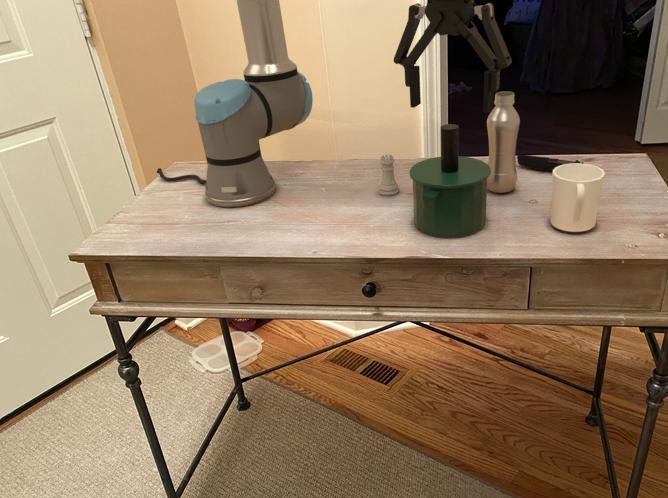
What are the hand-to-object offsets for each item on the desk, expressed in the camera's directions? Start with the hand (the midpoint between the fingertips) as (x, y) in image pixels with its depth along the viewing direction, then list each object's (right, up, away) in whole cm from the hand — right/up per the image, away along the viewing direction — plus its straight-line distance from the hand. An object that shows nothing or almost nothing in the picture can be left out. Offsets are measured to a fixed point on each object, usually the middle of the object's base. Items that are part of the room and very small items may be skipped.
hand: (450, 108), depth 106 cm
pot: (+1, -18, +12) cm, 22 cm away
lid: (0, -10, +6) cm, 12 cm away
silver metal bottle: (+13, -10, +23) cm, 28 cm away
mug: (+23, -20, +7) cm, 31 cm away
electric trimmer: (+26, -5, +30) cm, 40 cm away
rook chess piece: (-11, -10, +26) cm, 30 cm away
